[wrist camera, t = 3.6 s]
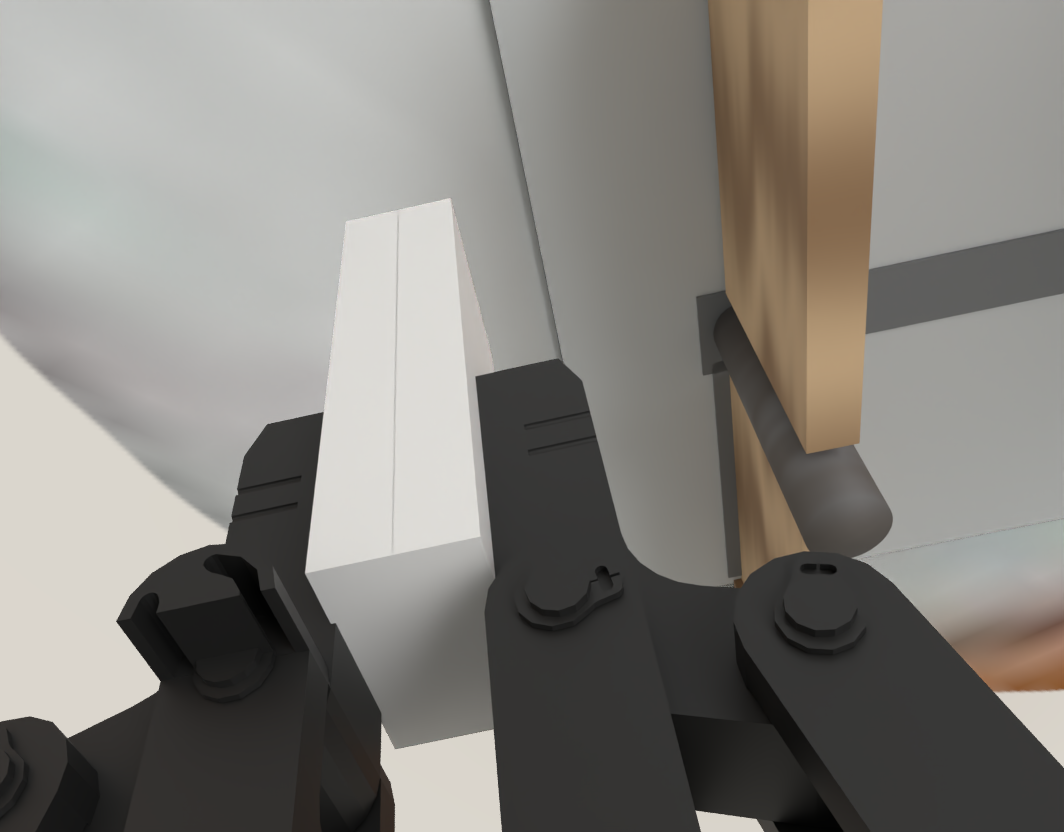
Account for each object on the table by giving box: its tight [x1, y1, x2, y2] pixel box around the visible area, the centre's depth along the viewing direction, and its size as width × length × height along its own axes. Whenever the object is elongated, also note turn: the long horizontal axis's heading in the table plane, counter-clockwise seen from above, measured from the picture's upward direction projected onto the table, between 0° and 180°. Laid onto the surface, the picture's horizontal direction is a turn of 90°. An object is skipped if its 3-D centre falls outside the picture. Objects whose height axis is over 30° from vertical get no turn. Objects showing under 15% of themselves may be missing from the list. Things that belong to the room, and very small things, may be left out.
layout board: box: [490, 0, 1064, 587], centre depth 27 cm, size 19×23×1 cm
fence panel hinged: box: [708, 0, 883, 454], centre depth 19 cm, size 12×2×8 cm, turn 11°
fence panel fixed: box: [713, 306, 893, 588], centre depth 27 cm, size 13×2×8 cm, turn 11°
